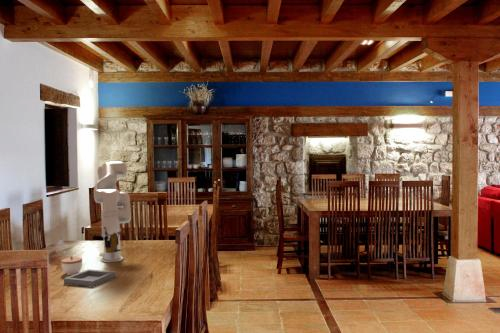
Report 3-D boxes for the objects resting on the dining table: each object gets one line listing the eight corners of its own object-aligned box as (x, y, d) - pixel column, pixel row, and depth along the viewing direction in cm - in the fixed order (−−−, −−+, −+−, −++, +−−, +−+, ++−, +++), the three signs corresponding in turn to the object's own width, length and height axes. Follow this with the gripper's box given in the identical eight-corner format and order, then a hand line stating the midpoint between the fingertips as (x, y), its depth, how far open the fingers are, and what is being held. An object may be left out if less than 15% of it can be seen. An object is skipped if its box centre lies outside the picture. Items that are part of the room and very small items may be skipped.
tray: (63, 284, 238) (63, 278, 238) (88, 274, 255) (88, 269, 255) (92, 287, 231) (92, 281, 231) (116, 277, 248) (115, 271, 248)
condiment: (102, 251, 260) (101, 230, 259) (115, 248, 266) (114, 227, 266) (110, 253, 255) (109, 231, 254) (123, 250, 262) (122, 229, 261)
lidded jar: (86, 271, 262) (86, 254, 262) (73, 276, 252) (72, 259, 252) (70, 270, 266) (70, 253, 265) (57, 275, 256) (56, 258, 255)
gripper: (114, 210, 268) (116, 242, 269) (94, 215, 252) (95, 249, 253) (125, 211, 265) (127, 243, 267) (105, 216, 249) (107, 250, 251)
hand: (111, 245), depth 260 cm, fingers closed on condiment, 6 cm apart
